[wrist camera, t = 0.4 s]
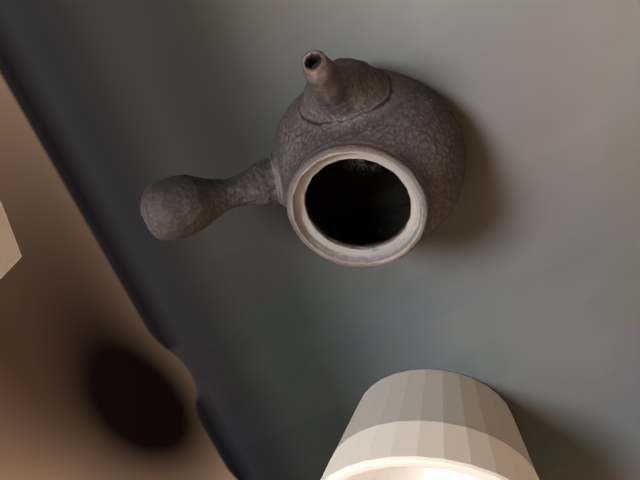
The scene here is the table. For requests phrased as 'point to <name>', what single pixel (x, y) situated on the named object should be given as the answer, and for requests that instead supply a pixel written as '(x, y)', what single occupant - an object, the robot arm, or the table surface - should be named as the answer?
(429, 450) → the bowl
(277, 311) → the table surface
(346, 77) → the teapot
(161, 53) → the table surface
